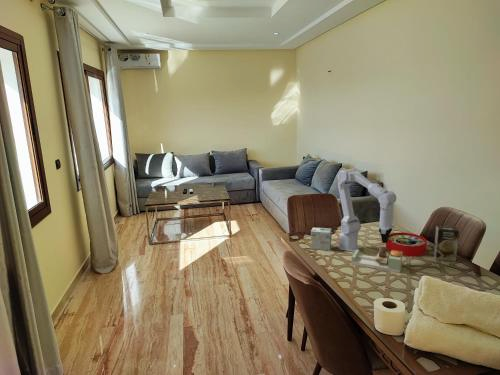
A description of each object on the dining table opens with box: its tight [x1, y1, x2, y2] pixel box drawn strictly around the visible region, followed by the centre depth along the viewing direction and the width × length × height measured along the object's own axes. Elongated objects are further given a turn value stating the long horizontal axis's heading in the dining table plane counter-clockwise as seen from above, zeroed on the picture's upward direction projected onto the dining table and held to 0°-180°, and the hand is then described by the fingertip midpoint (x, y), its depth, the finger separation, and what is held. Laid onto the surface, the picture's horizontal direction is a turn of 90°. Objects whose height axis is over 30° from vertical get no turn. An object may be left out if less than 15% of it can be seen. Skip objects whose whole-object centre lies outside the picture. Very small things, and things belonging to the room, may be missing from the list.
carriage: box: [375, 246, 390, 264], centre depth 166 cm, size 5×8×7 cm, turn 151°
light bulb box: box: [310, 227, 332, 251], centre depth 190 cm, size 11×7×11 cm, turn 71°
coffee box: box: [433, 225, 460, 262], centre depth 170 cm, size 9×6×16 cm
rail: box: [351, 249, 403, 274], centre depth 168 cm, size 22×10×6 cm, turn 61°
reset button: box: [389, 251, 401, 257], centre depth 163 cm, size 5×5×6 cm
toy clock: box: [385, 231, 428, 258], centre depth 184 cm, size 20×6×20 cm
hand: (384, 242), depth 169 cm, fingers closed
